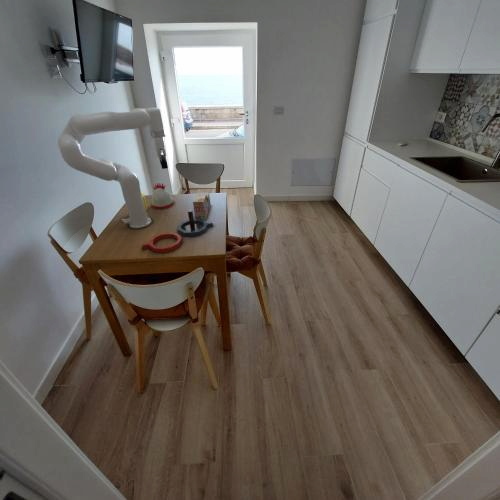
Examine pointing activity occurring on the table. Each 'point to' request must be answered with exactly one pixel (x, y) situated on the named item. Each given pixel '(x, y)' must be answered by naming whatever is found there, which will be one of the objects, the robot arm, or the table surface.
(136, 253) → the table surface
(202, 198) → the stack of blocks
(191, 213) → the ring peg
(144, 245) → the red ring
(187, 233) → the slate ring
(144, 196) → the tape roll
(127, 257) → the table surface
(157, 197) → the white rounded dome
